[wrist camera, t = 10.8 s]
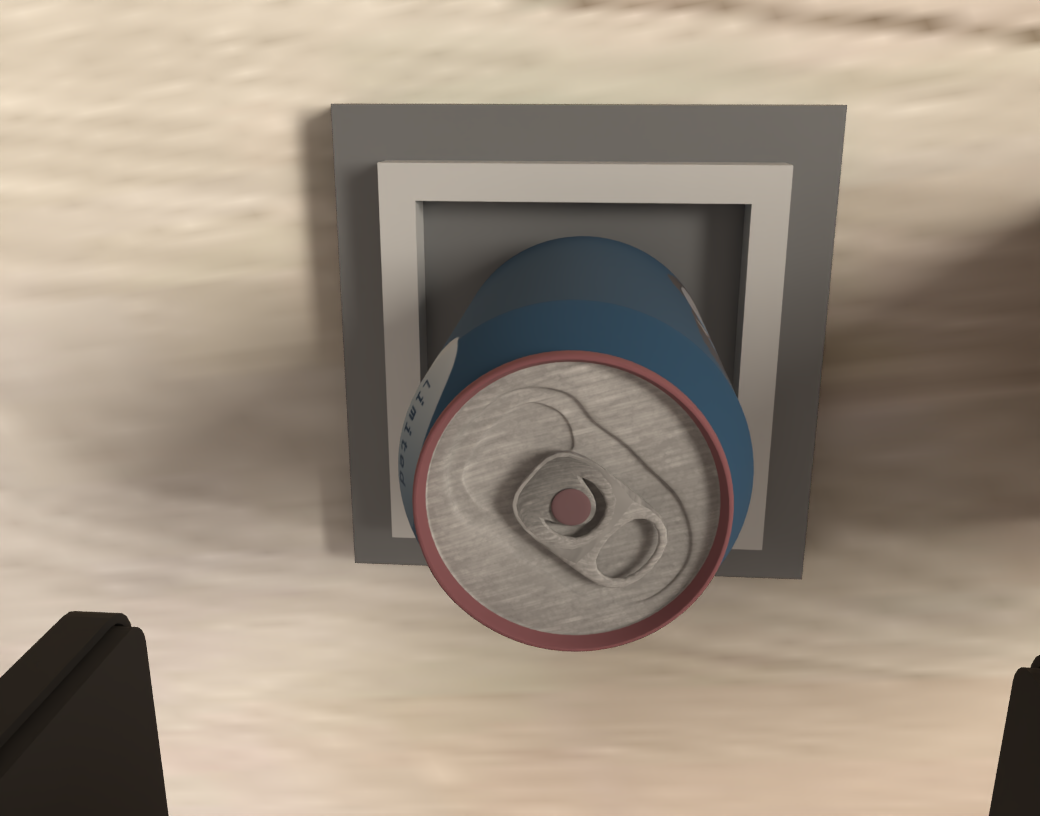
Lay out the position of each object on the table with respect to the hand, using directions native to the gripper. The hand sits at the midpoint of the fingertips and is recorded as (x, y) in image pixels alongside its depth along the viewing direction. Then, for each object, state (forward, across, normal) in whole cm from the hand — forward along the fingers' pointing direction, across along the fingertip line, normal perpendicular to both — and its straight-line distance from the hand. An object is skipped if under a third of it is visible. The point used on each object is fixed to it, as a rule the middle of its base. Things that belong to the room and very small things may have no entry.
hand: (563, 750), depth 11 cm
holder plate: (+20, 0, +1) cm, 20 cm away
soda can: (+19, 0, 0) cm, 19 cm away
